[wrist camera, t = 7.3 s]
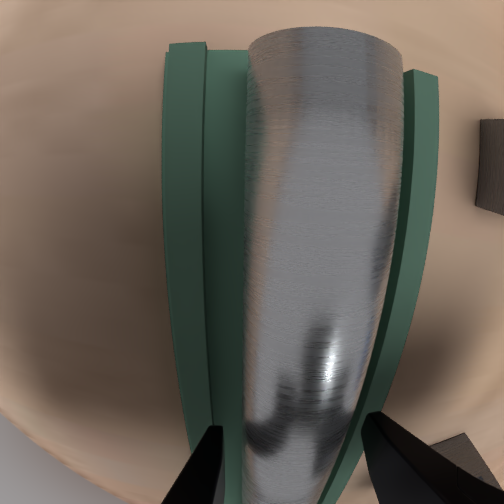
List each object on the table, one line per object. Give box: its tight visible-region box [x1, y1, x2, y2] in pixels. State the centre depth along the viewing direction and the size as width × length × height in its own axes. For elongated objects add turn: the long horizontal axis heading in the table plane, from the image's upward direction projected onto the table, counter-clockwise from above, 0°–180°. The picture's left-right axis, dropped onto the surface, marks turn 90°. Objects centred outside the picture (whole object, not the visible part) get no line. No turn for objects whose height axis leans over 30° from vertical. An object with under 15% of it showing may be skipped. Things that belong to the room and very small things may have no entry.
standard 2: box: [430, 433, 502, 490], centre depth 10 cm, size 3×6×6 cm, turn 89°
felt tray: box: [162, 42, 439, 504], centre depth 9 cm, size 20×7×1 cm, turn 179°
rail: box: [242, 27, 404, 504], centre depth 8 cm, size 19×3×3 cm, turn 179°
